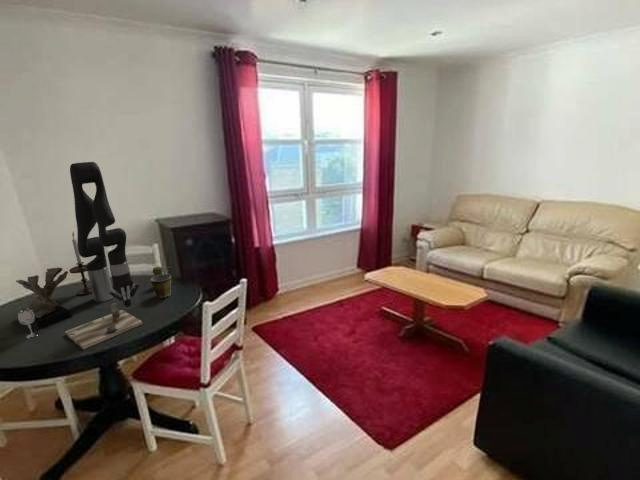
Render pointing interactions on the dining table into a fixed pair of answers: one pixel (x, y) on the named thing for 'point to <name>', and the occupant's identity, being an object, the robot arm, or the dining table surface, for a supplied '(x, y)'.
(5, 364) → the dining table surface
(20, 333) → the dining table surface
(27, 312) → the wineglass
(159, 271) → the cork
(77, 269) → the candlestick
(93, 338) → the board
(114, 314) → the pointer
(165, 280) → the ceramic cup
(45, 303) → the coral
